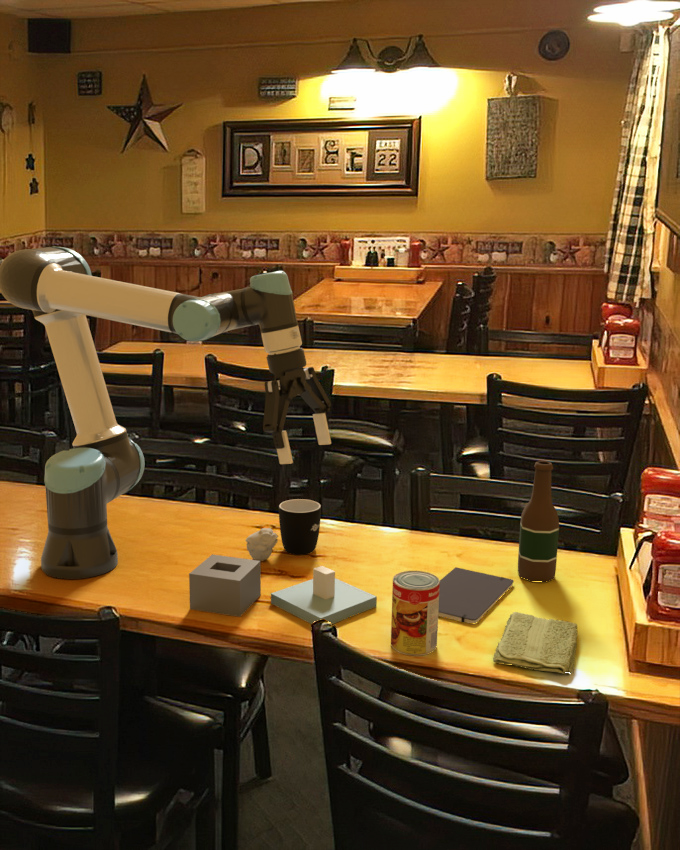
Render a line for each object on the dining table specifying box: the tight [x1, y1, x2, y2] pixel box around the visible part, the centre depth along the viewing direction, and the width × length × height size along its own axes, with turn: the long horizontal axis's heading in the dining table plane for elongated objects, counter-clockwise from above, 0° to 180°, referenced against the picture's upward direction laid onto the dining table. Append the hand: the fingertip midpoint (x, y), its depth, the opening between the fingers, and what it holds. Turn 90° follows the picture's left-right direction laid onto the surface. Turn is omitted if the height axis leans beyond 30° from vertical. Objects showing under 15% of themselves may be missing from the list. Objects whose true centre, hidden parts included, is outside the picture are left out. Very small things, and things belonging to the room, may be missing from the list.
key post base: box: [270, 565, 378, 625], centre depth 173 cm, size 14×14×7 cm
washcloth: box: [492, 611, 578, 674], centre depth 158 cm, size 13×18×3 cm
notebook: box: [438, 567, 515, 624], centre depth 179 cm, size 13×2×21 cm
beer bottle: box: [517, 460, 560, 583], centre depth 186 cm, size 8×8×24 cm
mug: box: [278, 498, 322, 556], centre depth 201 cm, size 12×9×10 cm
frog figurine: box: [245, 527, 279, 562], centre depth 194 cm, size 6×7×7 cm
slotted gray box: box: [188, 553, 262, 618], centre depth 174 cm, size 10×10×7 cm
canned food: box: [390, 570, 441, 657], centre depth 158 cm, size 8×8×12 cm
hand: (306, 453), depth 187 cm, fingers open, 13 cm apart
